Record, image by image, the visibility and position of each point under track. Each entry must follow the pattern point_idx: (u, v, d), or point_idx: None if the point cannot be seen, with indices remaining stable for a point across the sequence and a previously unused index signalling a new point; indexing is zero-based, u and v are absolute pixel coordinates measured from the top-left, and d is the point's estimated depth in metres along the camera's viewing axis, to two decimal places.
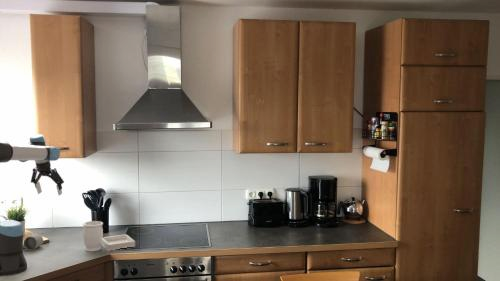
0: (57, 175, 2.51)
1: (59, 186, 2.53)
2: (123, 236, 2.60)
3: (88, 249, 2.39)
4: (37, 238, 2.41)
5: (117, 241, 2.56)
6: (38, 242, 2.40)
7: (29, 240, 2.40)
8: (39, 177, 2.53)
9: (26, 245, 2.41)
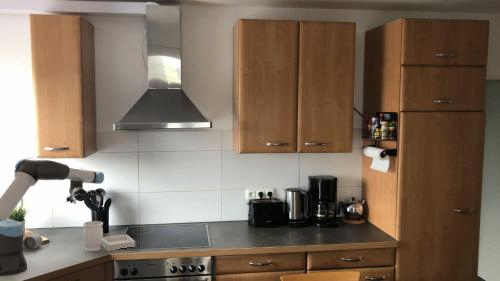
0: None
1: (99, 196, 2.61)
2: (123, 236, 2.60)
3: (88, 249, 2.39)
4: (36, 238, 2.41)
5: (117, 241, 2.56)
6: (37, 242, 2.40)
7: (28, 240, 2.40)
8: (76, 196, 2.59)
9: (25, 245, 2.41)
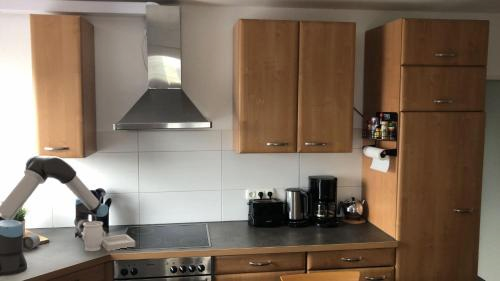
0: None
1: (104, 231, 2.47)
2: (123, 236, 2.60)
3: (88, 249, 2.39)
4: (34, 238, 2.41)
5: (117, 241, 2.56)
6: (35, 242, 2.40)
7: (26, 240, 2.40)
8: None
9: (23, 245, 2.41)
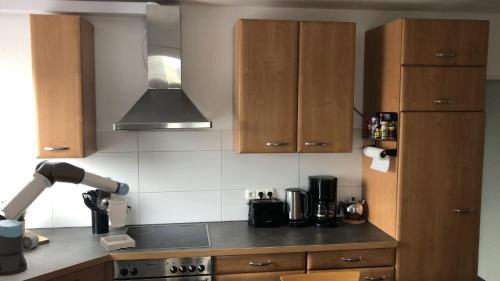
0: None
1: (128, 208, 2.55)
2: (123, 236, 2.60)
3: (113, 225, 2.47)
4: (33, 238, 2.41)
5: (117, 241, 2.56)
6: (34, 242, 2.40)
7: (25, 240, 2.40)
8: None
9: None
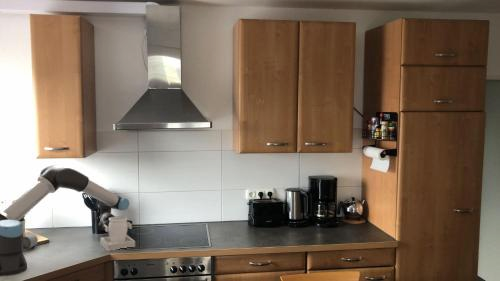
0: None
1: (129, 223, 2.57)
2: None
3: (113, 243, 2.48)
4: (31, 238, 2.41)
5: None
6: (32, 242, 2.40)
7: (23, 240, 2.40)
8: (107, 223, 2.55)
9: None
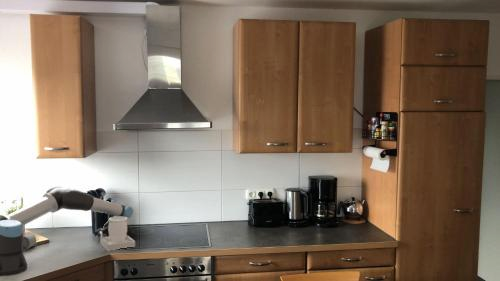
0: None
1: None
2: None
3: (113, 243, 2.48)
4: (30, 238, 2.41)
5: None
6: (31, 242, 2.40)
7: None
8: (104, 230, 2.63)
9: None
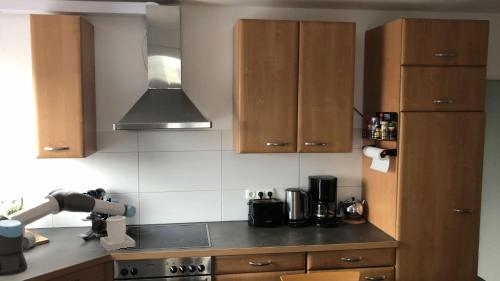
0: (96, 215, 2.64)
1: (88, 217, 2.57)
2: None
3: (113, 243, 2.48)
4: (29, 238, 2.41)
5: None
6: (30, 242, 2.40)
7: None
8: (90, 230, 2.63)
9: None
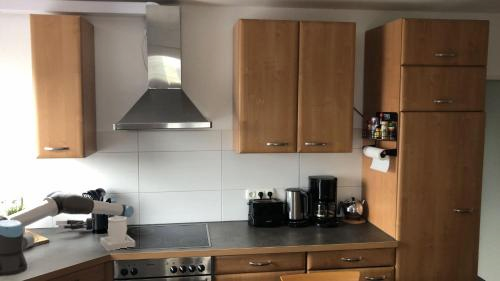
0: None
1: None
2: None
3: (113, 243, 2.48)
4: (28, 238, 2.41)
5: None
6: (29, 242, 2.40)
7: None
8: None
9: None
